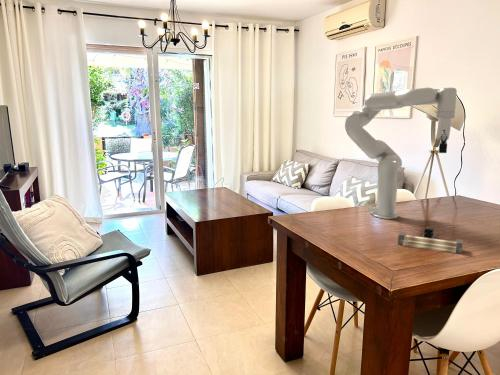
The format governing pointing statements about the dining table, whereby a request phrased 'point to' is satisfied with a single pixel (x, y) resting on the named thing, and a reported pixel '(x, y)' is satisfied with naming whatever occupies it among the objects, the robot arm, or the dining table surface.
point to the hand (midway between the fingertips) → (442, 151)
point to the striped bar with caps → (430, 243)
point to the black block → (429, 233)
